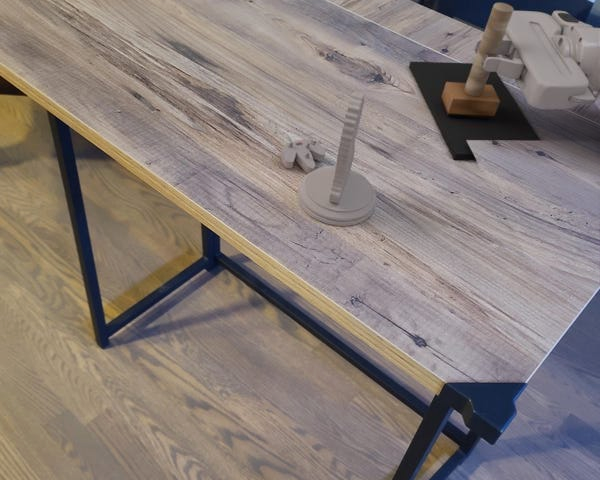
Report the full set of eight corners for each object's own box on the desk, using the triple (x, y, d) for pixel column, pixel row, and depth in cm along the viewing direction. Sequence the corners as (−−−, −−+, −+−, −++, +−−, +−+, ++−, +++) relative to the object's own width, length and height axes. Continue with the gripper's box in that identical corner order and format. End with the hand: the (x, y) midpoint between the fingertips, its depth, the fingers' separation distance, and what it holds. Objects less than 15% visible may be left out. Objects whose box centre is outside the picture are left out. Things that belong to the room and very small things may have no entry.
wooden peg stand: (485, 102, 90) (524, 1, 78) (492, 119, 87) (534, 17, 76) (440, 100, 89) (473, -3, 77) (446, 117, 86) (482, 12, 75)
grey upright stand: (382, 185, 77) (412, 77, 65) (367, 235, 70) (397, 126, 59) (308, 165, 77) (325, 56, 66) (287, 213, 71) (301, 101, 60)
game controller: (301, 181, 75) (303, 164, 73) (239, 138, 80) (239, 121, 78) (331, 163, 78) (334, 147, 76) (269, 122, 83) (270, 106, 81)
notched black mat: (488, 69, 99) (491, 63, 98) (546, 159, 84) (549, 154, 83) (408, 67, 97) (410, 61, 96) (453, 159, 82) (455, 153, 81)
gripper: (591, 124, 79) (492, 118, 77) (542, 46, 92) (456, 40, 90) (616, 81, 74) (510, 73, 72) (560, 5, 87) (469, -3, 85)
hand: (480, 54), depth 81 cm, fingers closed on wooden peg stand, 2 cm apart
